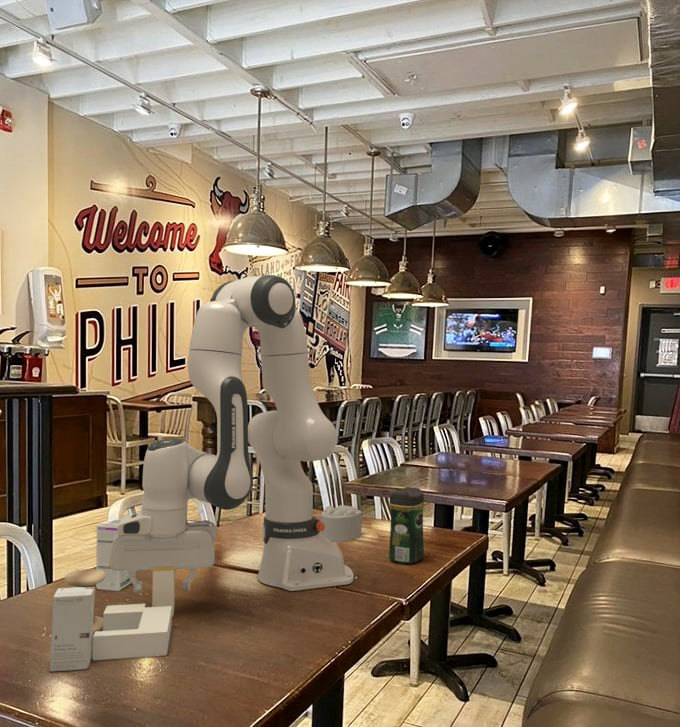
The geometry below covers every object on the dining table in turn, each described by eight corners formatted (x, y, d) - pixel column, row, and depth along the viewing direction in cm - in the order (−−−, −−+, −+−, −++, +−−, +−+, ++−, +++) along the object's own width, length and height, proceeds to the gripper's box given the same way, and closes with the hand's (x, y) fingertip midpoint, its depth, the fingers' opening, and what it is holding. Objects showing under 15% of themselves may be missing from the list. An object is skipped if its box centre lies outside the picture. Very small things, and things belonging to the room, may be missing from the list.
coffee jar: (400, 552, 172) (401, 483, 172) (427, 557, 168) (428, 487, 168) (383, 561, 164) (385, 489, 164) (412, 567, 160) (413, 492, 160)
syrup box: (119, 591, 139) (120, 525, 139) (94, 589, 140) (96, 523, 140) (132, 583, 145) (134, 519, 145) (109, 581, 146) (110, 517, 146)
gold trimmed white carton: (174, 609, 130) (175, 560, 130) (173, 617, 126) (174, 566, 126) (153, 610, 129) (154, 561, 129) (151, 618, 125) (152, 567, 125)
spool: (106, 619, 124) (107, 568, 124) (100, 634, 117) (101, 580, 117) (68, 622, 122) (69, 569, 122) (59, 637, 115) (60, 581, 116)
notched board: (172, 623, 123) (172, 602, 123) (166, 655, 109) (167, 631, 109) (106, 626, 120) (106, 605, 120) (92, 660, 107) (93, 636, 107)
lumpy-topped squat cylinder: (365, 535, 190) (366, 506, 190) (341, 544, 179) (342, 514, 179) (336, 529, 196) (337, 501, 196) (311, 539, 185) (312, 509, 185)
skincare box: (49, 673, 102) (50, 597, 102) (54, 660, 106) (56, 587, 107) (89, 669, 104) (91, 594, 104) (94, 657, 108) (95, 585, 108)
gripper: (217, 516, 132) (215, 583, 132) (113, 518, 128) (111, 587, 128) (217, 523, 126) (215, 593, 126) (108, 526, 122) (106, 598, 122)
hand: (162, 590), depth 127 cm, fingers open, 8 cm apart
